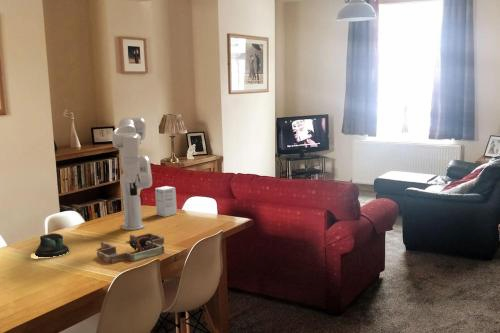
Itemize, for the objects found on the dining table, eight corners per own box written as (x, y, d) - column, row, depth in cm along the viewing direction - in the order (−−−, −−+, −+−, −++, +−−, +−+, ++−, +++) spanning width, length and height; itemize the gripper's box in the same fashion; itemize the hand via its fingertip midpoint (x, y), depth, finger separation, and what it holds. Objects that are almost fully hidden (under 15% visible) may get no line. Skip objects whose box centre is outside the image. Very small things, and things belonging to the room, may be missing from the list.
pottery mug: (154, 248, 256) (156, 237, 251) (150, 262, 248) (151, 250, 244) (131, 243, 256) (132, 231, 251) (125, 257, 248) (126, 245, 243)
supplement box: (177, 214, 322) (176, 187, 319) (165, 216, 315) (164, 189, 313) (168, 211, 329) (166, 185, 326) (156, 214, 322) (154, 188, 319)
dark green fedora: (82, 250, 255) (81, 232, 254) (48, 263, 238) (47, 243, 237) (55, 245, 265) (54, 227, 264) (21, 256, 248) (19, 238, 247)
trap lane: (84, 251, 252) (84, 245, 252) (146, 236, 276) (145, 230, 275) (115, 266, 231) (114, 260, 230) (179, 248, 254) (178, 242, 253)
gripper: (117, 158, 264) (120, 193, 268) (132, 162, 253) (134, 199, 256) (131, 157, 269) (133, 191, 272) (145, 160, 258) (147, 196, 261)
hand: (133, 195), depth 264 cm, fingers closed
